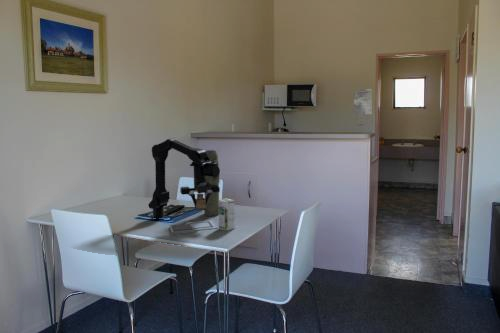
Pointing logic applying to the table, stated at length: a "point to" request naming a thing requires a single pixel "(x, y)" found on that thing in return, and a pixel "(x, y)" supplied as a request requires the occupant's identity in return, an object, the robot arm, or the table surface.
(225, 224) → the syrup box
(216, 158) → the thermos
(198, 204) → the stamp
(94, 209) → the table surface
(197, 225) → the board
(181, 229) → the ink pad
